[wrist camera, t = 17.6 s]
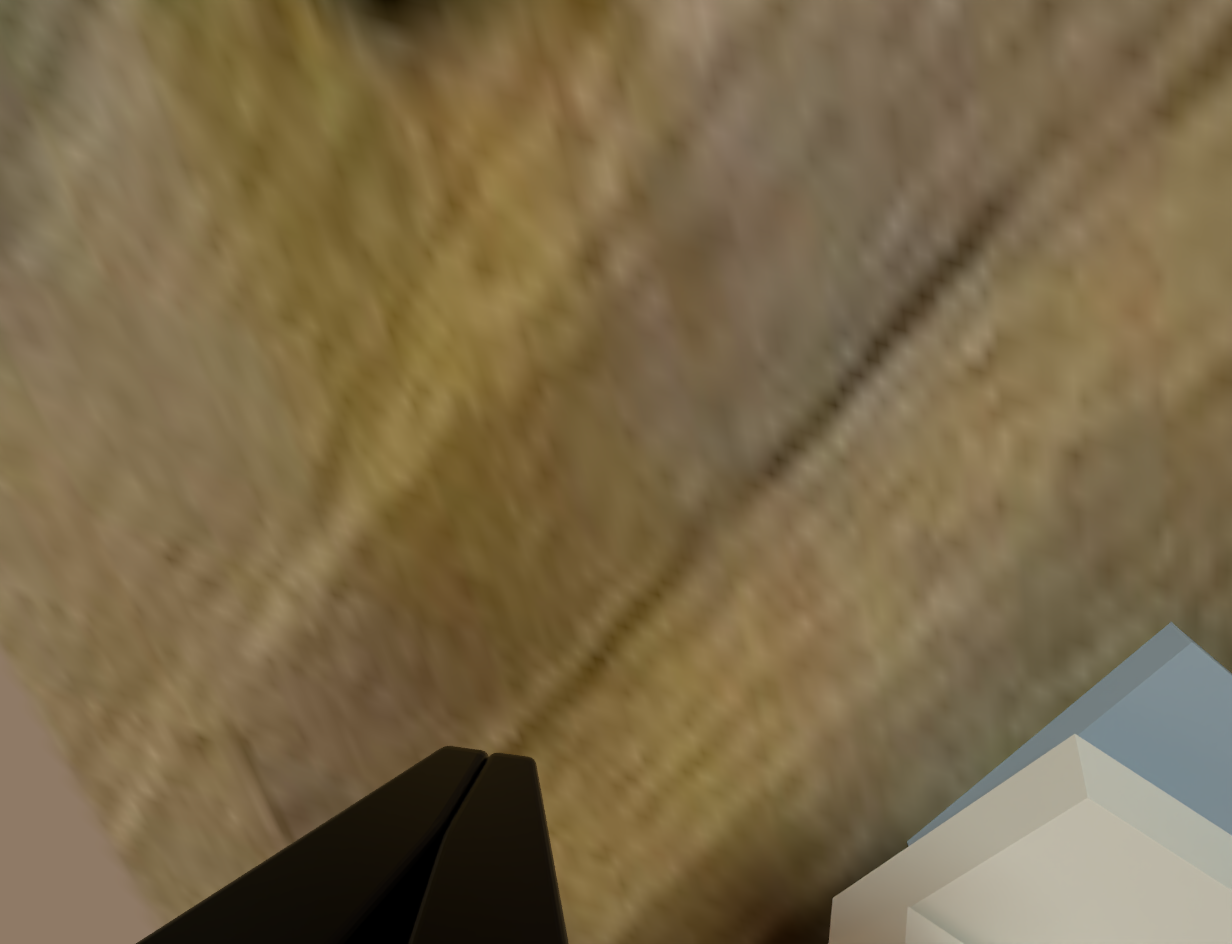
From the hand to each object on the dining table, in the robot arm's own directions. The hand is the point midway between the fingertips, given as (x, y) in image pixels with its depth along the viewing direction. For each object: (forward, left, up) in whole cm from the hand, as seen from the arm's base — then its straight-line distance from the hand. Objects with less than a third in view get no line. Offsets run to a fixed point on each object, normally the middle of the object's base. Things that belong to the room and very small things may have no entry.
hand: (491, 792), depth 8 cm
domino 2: (-8, +12, -11) cm, 18 cm away
